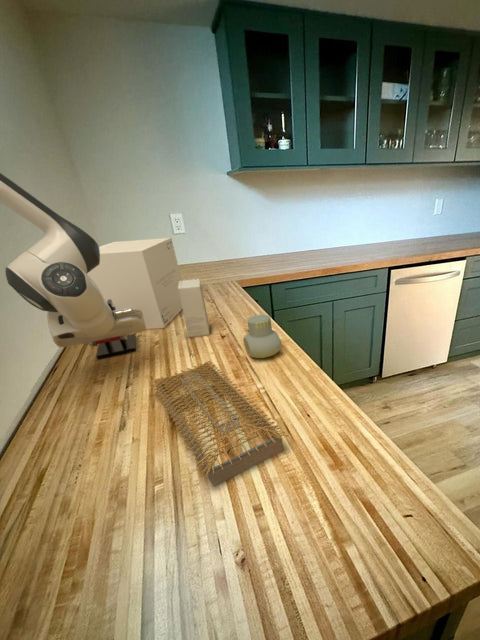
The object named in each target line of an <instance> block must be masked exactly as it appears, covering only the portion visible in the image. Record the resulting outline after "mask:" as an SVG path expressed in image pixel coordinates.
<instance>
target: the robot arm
mask: <svg viewBox="0 0 480 640" xmlns="http://www.w3.org/2000/svg"><path fill="white" fill-rule="evenodd" d="M0 204H2V205H4V206H6V207H7V208H9V209H10V210H11V211H13V212H15V213H16V214H18V215H19V216H20V217H22V218H24V219H25V220H26V221H28V222H29V223H31V224H32V225H33V226H35V227H37V228H38V229H40V230H41V231H43V232H44V235H43V236H42V237H41V238H40V239H39V240H38V241H36V242H35V243H34V244H32V245H31V246H30V247H29V248H28V249H27V250H25V251H23V252H22V253H21V254H19V255H18V256H17V257H16V258H15V259H14V260H12V261H11V262H10V263H9V264H8V265H7V266H6V267H5V271H4V272H5V278H6V282H7V284H8V285H9V286H10V287H11V288H12V289H13V290H14V291H15V292H16V293H17V294H18V295H19V296H20V297H21V298H22V299H24V300H25V301H26V302H27V303H29V304H30V305H31V306H33V307H34V308H36V309H38V310H41V311H43V312H46V313H47V314H46V315H47V316H46V317H47V325H48V330H49V333H50V336H51V338H52V341H53V344H55V345H56V346H57V347H58V348H69V347H72V346H73V347H74V346H77V345H87V346H88V345H89V346H90V347H97V346H98V344H96V342H95V341H98V340H103V339H108V338H113V337H118V336H120V338H121V340H126V339H127V336H128V335H130V334H136V333H141V332H145V331H146V330H147V329H146V325H145V322H144V318H143V317H142V316H143V314H142V312H141V310H136V309H134V308H127V309H121V310H115V311H112V310H111V308H110V307H109V305H108V303H107V302H106V300H105V299H104V298H103V295H102V293H101V291H100V290H99V288H98V287H97V285H96V284H95V283H94V281H93V280H92V279H91V278H90V277H89V276H88V275H87V273H88V272H90V271H91V270H92V269H94V268H95V267H97V266H98V265H99V263H100V250H99V247H100V246H99V244H98V242H97V241H96V240H95V239H94V238H93V237H92V236H91V235H90V234H89V233H87V232H86V231H85V230H83V229H81V228H80V227H79V226H77V225H76V224H74V223H72V222H71V221H69V220H67V219H66V218H64V217H62V216H61V215H60V214H58V213H57V212H55V211H54V210H53V209H51V208H50V207H48V206H47V205H46V204H44V203H43V202H42V201H40V200H39V199H37V198H36V197H34V196H33V195H32V194H31V193H29V192H28V191H26V190H25V189H23V188H22V187H21V186H19V185H18V184H17V183H16V182H14V181H13V180H12V179H10V178H9V177H7V176H5V175H4V174H3V173H2V172H0Z"/></svg>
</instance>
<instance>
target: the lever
mask: <svg viewBox="0 0 480 640" xmlns="http://www.w3.org/2000/svg"><path fill="white" fill-rule="evenodd" d="M116 340H121V338H120V336H118V337H113V338H108V339H103V340H98V341H95V342H96V344H97V345H99V344H101V343H106V342H111V341H116Z"/></svg>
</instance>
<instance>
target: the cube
mask: <svg viewBox="0 0 480 640" xmlns="http://www.w3.org/2000/svg"><path fill="white" fill-rule="evenodd" d="M99 250H100V263H99V265H98V266H97V267H95V268H94V269H92V270H91V271H90V272H88V273H87V275H88V276H89V277H90V278H91V279H92V280H93V281H94V283H95V284H96V285H97V287H98V288H99V290H100V291H101V293H102V295H103V298H104V299H105V300H106V302H107V300H110V299H111V300H112V303H113V305H115V308H116V310H121V309H127V308H134V309H136V310H141V312H142V314H143V316H142V317H143V318H144V322H145V325H146V329H145V330H154V329H164V328H166V327H167V326H168V325H169V324H170V323H171V321H173V319H174V318H175V317H176V316H177V315H178V314H179V313H181V311H183V308H182V304H181V300H180V296H179V291H178V284H179V281H183V279H182V275H181V272H180V267H179V262H178V259H177V255H176V252H175V247H174V243H173V238H172V237H162V238H147V239H135V240H121V241H119V240H118V241H113V242H109V243H106V244H103V245H100V246H99Z"/></svg>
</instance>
